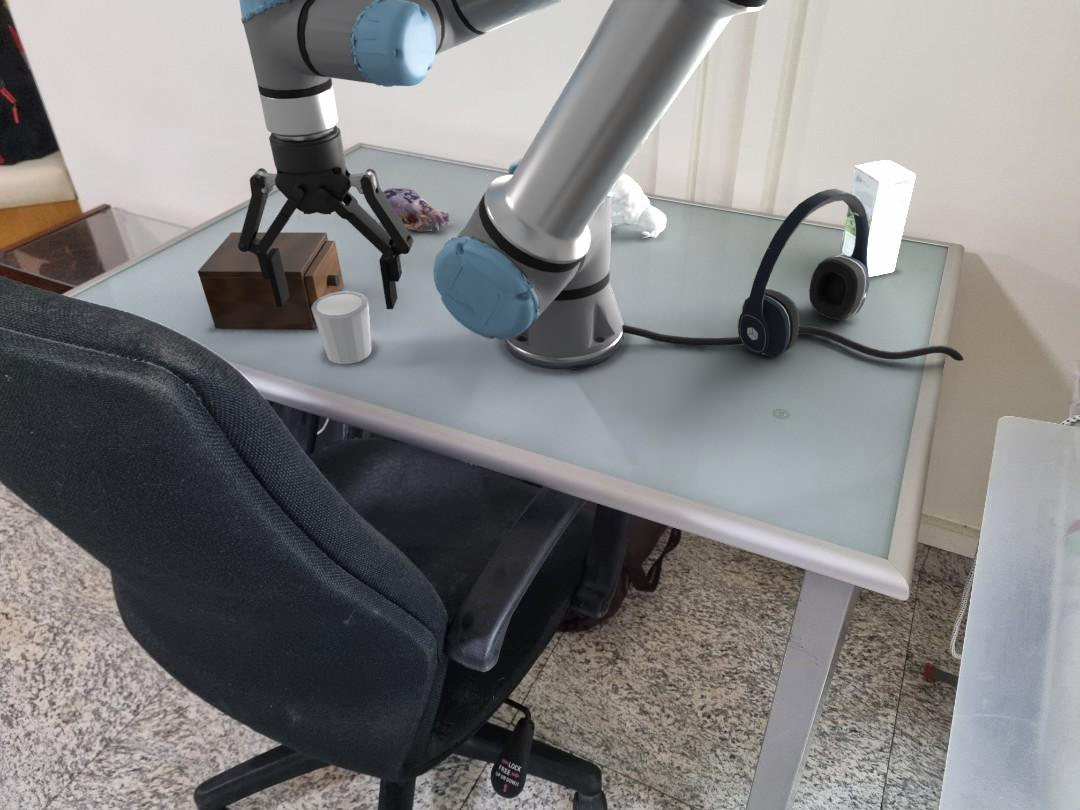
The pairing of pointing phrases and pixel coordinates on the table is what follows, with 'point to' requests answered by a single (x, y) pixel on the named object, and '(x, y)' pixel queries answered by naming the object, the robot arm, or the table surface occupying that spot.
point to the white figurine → (635, 208)
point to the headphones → (832, 288)
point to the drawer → (323, 273)
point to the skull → (415, 210)
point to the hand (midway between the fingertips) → (337, 302)
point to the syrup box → (880, 212)
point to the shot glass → (344, 326)
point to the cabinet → (260, 284)
